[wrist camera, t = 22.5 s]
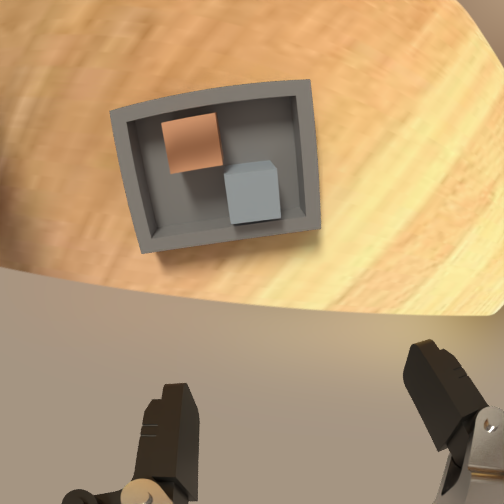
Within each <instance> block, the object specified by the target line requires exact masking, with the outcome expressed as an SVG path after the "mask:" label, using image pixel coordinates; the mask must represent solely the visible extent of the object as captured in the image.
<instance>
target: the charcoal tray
mask: <svg viewBox="0 0 504 504" xmlns="http://www.w3.org/2000/svg"><path fill="white" fill-rule="evenodd" d="M216 112H217V117H218V123H219V130H220V137H221V143H222V150H223V157H224V158H223V165H220V166H214V167H208V168H202V169H196V170H190V171H185V172H179V173H174V174H171V173H170V168H169V163H168V158H167V153H166V147H165V142H164V136H163V130H162V124H161V123H163V122H168V121H172V120H177V119H182V118H187V117H193V116H198V115H204V114H210V113H216ZM110 118H111V123H112V129H113V135H114V140H115V145H116V151H117V156H118V161H119V165H120V170H121V175H122V179H123V184H124V188H125V192H126V197H127V201H128V205H129V209H130V213H131V217H132V221H133V225H134V228H135V232H136V236H137V239H138V243H139V247H140V250H141V254H145V253H152V252H159V251H165V250H172V249H179V248H186V247H193V246H200V245H206V244H213V243H220V242H228V241H235V240H242V239H249V238H256V237H263V236H271V235H278V234H285V233H293V232H300V231H308V230H315V229H321V213H320V192H319V174H318V158H317V145H316V132H315V121H314V110H313V100H312V91H311V82H310V79H306V80H287V81H273V82H261V83H251V84H242V85H234V86H226V87H219V88H212V89H206V90H200V91H194V92H189V93H183V94H178V95H173V96H168V97H163V98H159V99H154V100H150V101H146V102H141V103H137V104H133V105H130V106H126V107H122V108H118V109H115V110H111V111H110ZM268 160H270V161H271V162H272V163H273V164H274V166H275V167H276V168H277V175H278V187H279V199H280V211H281V218H277V219H269V220H261V221H253V222H245V223H238V224H231V222H230V215H229V208H228V201H227V194H226V186H225V179H224V166H226V165H234V164H242V163H250V162H258V161H268Z"/></svg>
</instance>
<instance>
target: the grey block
mask: <svg viewBox="0 0 504 504" xmlns="http://www.w3.org/2000/svg"><path fill="white" fill-rule="evenodd" d="M224 179H225V186H226V194H227V201H228V208H229V215H230V222H231V224H238V223H245V222H253V221H261V220H269V219H277V218H281V211H280V199H279V187H278V175H277V168H276V167H275V166H274V164H273V163H272V162H271V161H270V160H268V161H258V162H250V163H242V164H234V165H226V166H224Z"/></svg>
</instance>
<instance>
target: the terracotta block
mask: <svg viewBox="0 0 504 504" xmlns="http://www.w3.org/2000/svg"><path fill="white" fill-rule="evenodd" d="M161 124H162V130H163V136H164V142H165V147H166V153H167V158H168V163H169V168H170V173H171V174H174V173H179V172H185V171H190V170H196V169H202V168H208V167H214V166H220V165H223V158H224V157H223V150H222V143H221V137H220V130H219V123H218V117H217V112H216V113H210V114H204V115H198V116H193V117H187V118H182V119H177V120H172V121H168V122H163V123H161Z"/></svg>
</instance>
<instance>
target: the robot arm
mask: <svg viewBox="0 0 504 504" xmlns="http://www.w3.org/2000/svg"><path fill="white" fill-rule="evenodd" d="M403 380H404V384H405V387H406V388H407V390H408V392H409V394H410V396H411V398H412V400H413V402H414V404H415V406H416V408H417V410H418V412H419V414H420V416H421V418H422V420H423V421H424V424H425V426H426V428H427V430H428V432H429V434H430V436H431V438H432V440H433V442H434V444H435V446H436V448H437V451H438V452H439V451H442V450H444V449H446V448H448V449H449V451H450V454H449V456H448V459H447V463H446V466H445V470H444V474H443V477H442V481H441V484H440V487H439V490H438V493H437V496H436V499H435V501H434V502H433V504H504V411H503V410H502V409H500V408H497V407H493V406H491V407H490V406H489V405H488V404H487V403H486V402H485V400H484V398H483V397H482V395H481V394H480V393H479V391H478V389H477V388H476V387H475V385H474V384H473V382H472V380H471V379H470V378H469V376H467V374H466V372H465V370H464V369H463V368H462V367H461V365H460V363H459V362H458V361H457V359H456V358H455V357H454V356H453V355H452V354H451V353H449V352H448V351H446V350H445V349H442V350H439V348H438V347H437V345H436V344H435V343H434V341H433V340H431V339H428V340H425V341H422V342H418V343H415V344H412V345H411V347H410V350H409V354H408V357H407V361H406V364H405V367H404V371H403ZM142 424H143V426H142V428H141V437H140V440H139V446H138V452H137V458H136V465H135V472H134V476H133V478H132V480H131V482H129V483H128V484H127V485H126V486H125V487H124V488H123V489H121V490H119V491H115V492H110V493H105V494H99V495H92V494H91V493H89V492H88V491H85V490H82V489H77V490H73V491H70V492H69V493H68V494H66V495H65V497H64V499H63V501H62V504H188V501H198V454H199V424H200V421H199V413H198V409H197V406H196V404H195V401H194V399H193V396H192V394H191V392H190V389H189V387H188V385H187V383H177V384H165V385H164V387H163V393H162V399H153V400H152V401H151V402H150V404H149V405H148V407H147V408H146V410H145V412H144V417H143V423H142Z"/></svg>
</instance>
